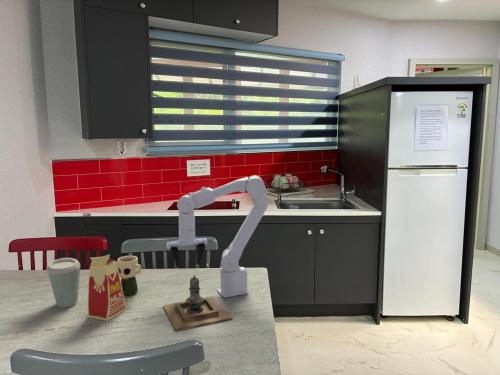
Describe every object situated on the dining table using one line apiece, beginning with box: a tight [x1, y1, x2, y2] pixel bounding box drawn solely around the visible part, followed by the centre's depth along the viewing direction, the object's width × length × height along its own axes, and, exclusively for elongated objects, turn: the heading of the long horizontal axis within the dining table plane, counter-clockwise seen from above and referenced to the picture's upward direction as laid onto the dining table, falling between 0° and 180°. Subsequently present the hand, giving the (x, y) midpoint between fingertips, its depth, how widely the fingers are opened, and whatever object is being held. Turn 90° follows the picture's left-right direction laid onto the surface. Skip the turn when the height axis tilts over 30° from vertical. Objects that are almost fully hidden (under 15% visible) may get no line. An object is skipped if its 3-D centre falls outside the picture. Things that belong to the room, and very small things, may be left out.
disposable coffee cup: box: [46, 257, 81, 308], centre depth 136 cm, size 11×11×15 cm
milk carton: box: [87, 254, 127, 322], centre depth 129 cm, size 9×9×20 cm
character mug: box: [115, 255, 142, 296], centre depth 146 cm, size 11×7×13 cm, turn 71°
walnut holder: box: [162, 295, 233, 332], centre depth 130 cm, size 18×18×2 cm
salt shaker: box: [185, 274, 205, 314], centre depth 130 cm, size 6×6×12 cm
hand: (187, 265), depth 145 cm, fingers open, 7 cm apart
